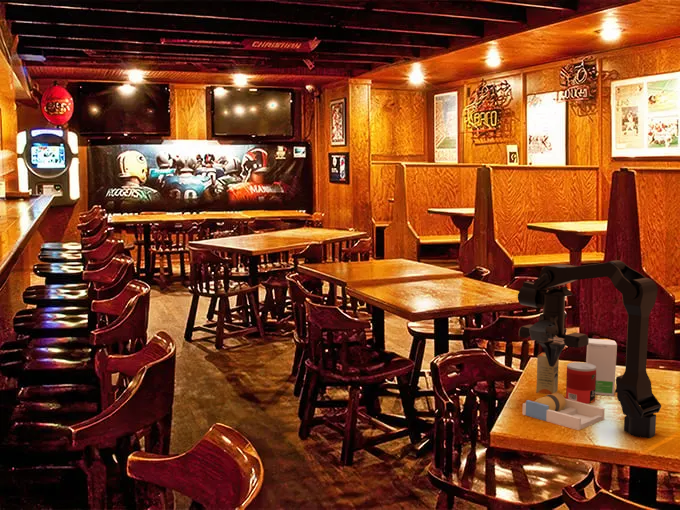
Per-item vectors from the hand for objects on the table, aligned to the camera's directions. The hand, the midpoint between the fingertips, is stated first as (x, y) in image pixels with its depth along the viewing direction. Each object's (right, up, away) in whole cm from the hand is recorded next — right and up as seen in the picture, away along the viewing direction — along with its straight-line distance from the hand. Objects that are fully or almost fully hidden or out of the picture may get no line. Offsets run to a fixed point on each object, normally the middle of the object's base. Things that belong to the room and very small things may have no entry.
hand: (551, 366), depth 211 cm
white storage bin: (+1, -13, -7) cm, 15 cm away
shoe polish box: (+3, -11, +16) cm, 20 cm away
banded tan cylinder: (-2, -12, -4) cm, 13 cm away
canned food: (+10, -12, +8) cm, 18 cm away
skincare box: (+19, -11, +19) cm, 29 cm away
